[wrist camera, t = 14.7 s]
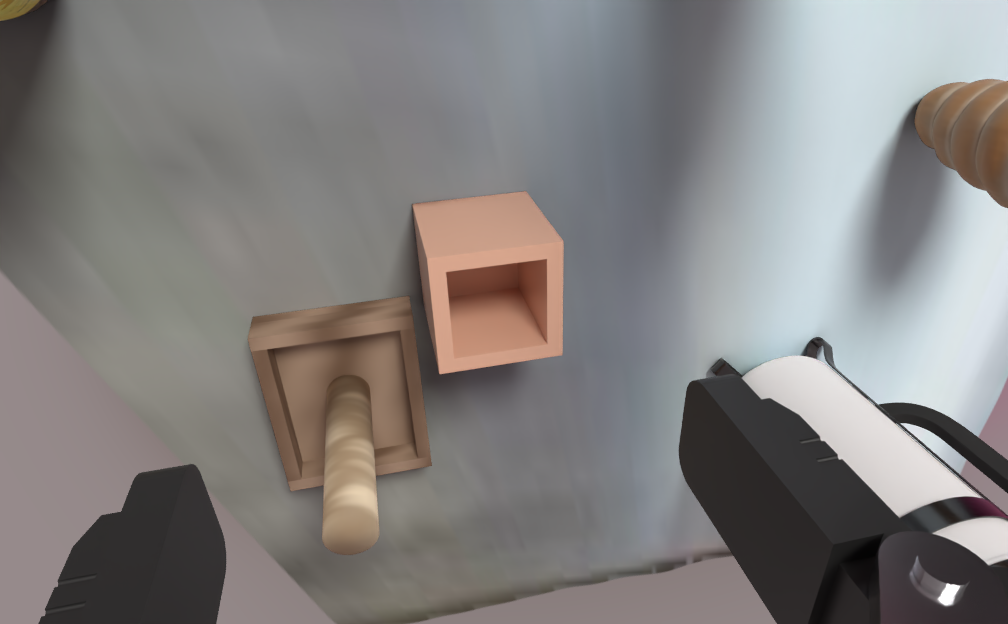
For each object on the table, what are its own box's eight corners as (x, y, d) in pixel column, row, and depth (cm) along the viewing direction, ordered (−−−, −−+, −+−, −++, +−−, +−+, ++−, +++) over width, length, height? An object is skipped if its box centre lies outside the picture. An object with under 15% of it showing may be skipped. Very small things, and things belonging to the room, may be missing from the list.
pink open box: (526, 191, 45) (563, 241, 38) (528, 291, 49) (562, 355, 42) (412, 203, 44) (426, 258, 36) (423, 305, 48) (439, 374, 40)
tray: (409, 295, 47) (412, 315, 45) (427, 441, 54) (431, 465, 52) (252, 316, 45) (247, 339, 43) (293, 464, 52) (290, 491, 50)
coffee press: (748, 482, 66) (1004, 820, 40) (656, 412, 58) (899, 774, 33) (885, 367, 62) (1265, 661, 36) (805, 276, 54) (1214, 568, 29)
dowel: (366, 371, 48) (375, 510, 36) (372, 405, 50) (382, 548, 38) (323, 378, 48) (317, 521, 36) (331, 412, 49) (327, 559, 38)
